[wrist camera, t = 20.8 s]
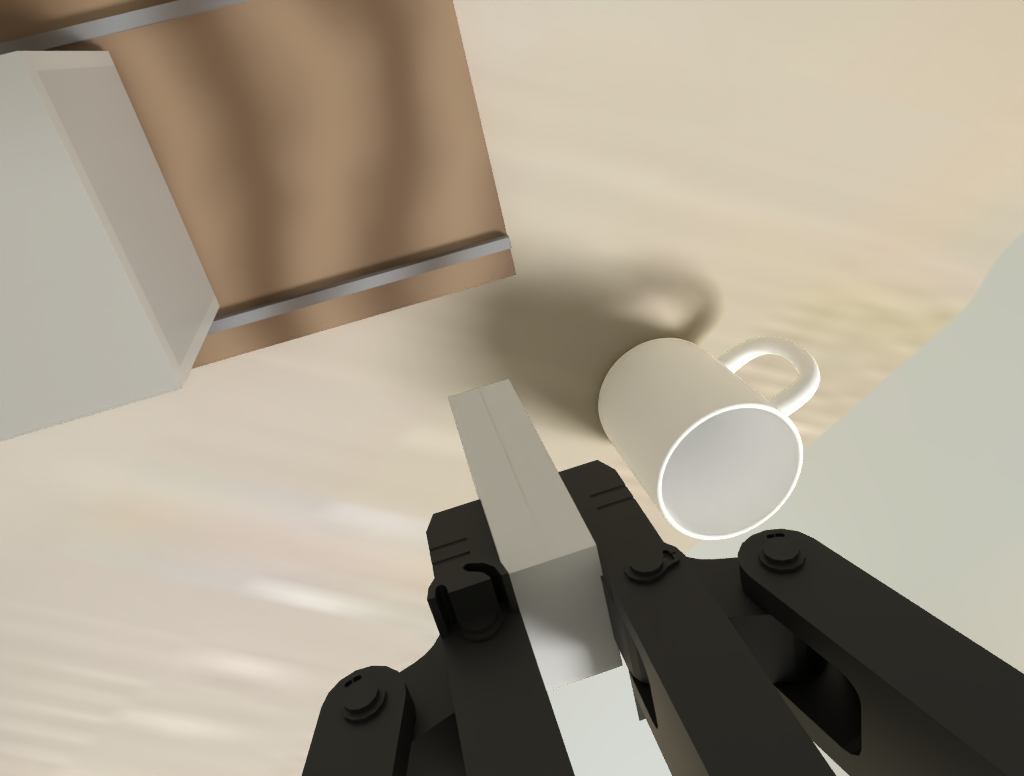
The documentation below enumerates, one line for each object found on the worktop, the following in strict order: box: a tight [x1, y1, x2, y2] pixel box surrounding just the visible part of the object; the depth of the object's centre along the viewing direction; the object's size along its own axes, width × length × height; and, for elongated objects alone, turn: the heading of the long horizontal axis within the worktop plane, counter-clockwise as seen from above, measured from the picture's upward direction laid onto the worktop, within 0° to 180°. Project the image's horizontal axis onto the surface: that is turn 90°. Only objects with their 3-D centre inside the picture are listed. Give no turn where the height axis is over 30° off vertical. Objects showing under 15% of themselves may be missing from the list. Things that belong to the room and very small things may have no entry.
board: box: [0, 0, 516, 369], centre depth 35 cm, size 24×18×3 cm
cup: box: [598, 336, 820, 540], centre depth 43 cm, size 8×12×10 cm
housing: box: [0, 51, 220, 441], centre depth 30 cm, size 10×12×10 cm
